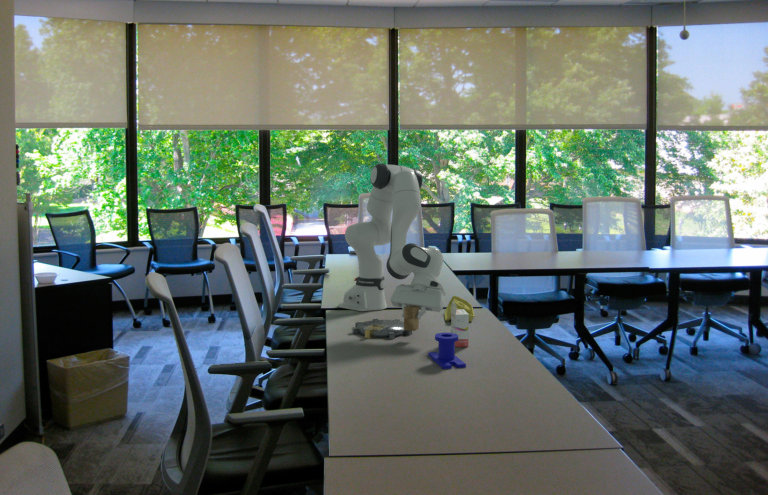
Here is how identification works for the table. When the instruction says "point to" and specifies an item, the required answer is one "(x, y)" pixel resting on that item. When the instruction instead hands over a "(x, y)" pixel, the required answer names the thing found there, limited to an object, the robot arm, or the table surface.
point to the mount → (446, 351)
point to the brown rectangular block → (411, 318)
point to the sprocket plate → (381, 329)
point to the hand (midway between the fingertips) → (410, 317)
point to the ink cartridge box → (460, 325)
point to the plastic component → (460, 305)
